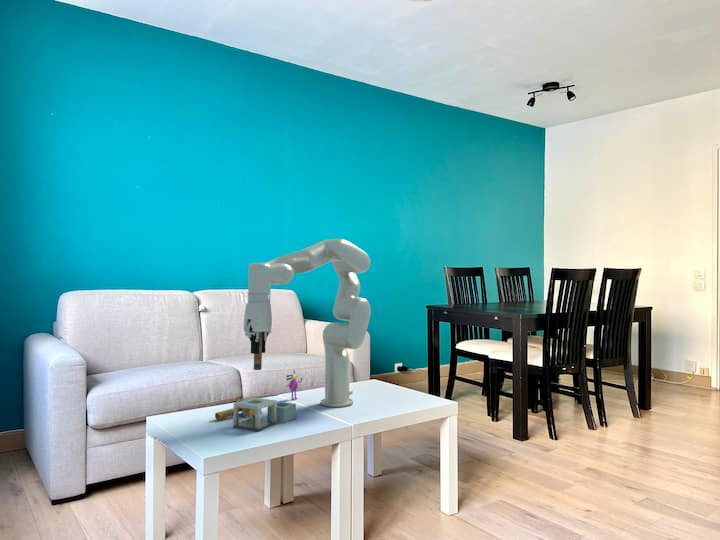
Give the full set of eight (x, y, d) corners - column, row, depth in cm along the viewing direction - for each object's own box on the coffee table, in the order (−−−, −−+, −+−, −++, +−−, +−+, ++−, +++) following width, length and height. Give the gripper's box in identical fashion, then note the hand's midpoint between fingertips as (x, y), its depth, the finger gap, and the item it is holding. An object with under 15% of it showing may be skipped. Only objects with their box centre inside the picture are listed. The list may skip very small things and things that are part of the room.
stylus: (256, 368, 183) (257, 324, 183) (263, 369, 181) (264, 325, 182) (252, 369, 180) (253, 325, 181) (258, 370, 179) (259, 325, 180)
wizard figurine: (288, 402, 209) (288, 372, 210) (281, 401, 211) (282, 371, 211) (304, 397, 219) (304, 368, 220) (298, 396, 221) (298, 367, 221)
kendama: (225, 427, 180) (268, 410, 193) (221, 409, 180) (265, 393, 193) (213, 427, 185) (256, 410, 198) (210, 409, 186) (253, 393, 199)
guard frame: (252, 420, 183) (252, 397, 183) (276, 424, 179) (276, 400, 179) (233, 427, 174) (233, 403, 175) (258, 431, 170) (258, 406, 170)
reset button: (254, 414, 179) (254, 408, 179) (263, 416, 178) (263, 410, 178) (246, 417, 176) (246, 411, 176) (256, 419, 174) (256, 412, 174)
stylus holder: (279, 415, 190) (279, 401, 190) (295, 418, 187) (295, 403, 187) (267, 420, 184) (267, 405, 184) (284, 422, 181) (284, 408, 181)
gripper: (265, 298, 190) (263, 349, 190) (234, 299, 176) (233, 354, 176) (282, 298, 187) (281, 351, 186) (252, 299, 173) (251, 356, 172)
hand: (258, 352), depth 181 cm, fingers closed on stylus, 2 cm apart
